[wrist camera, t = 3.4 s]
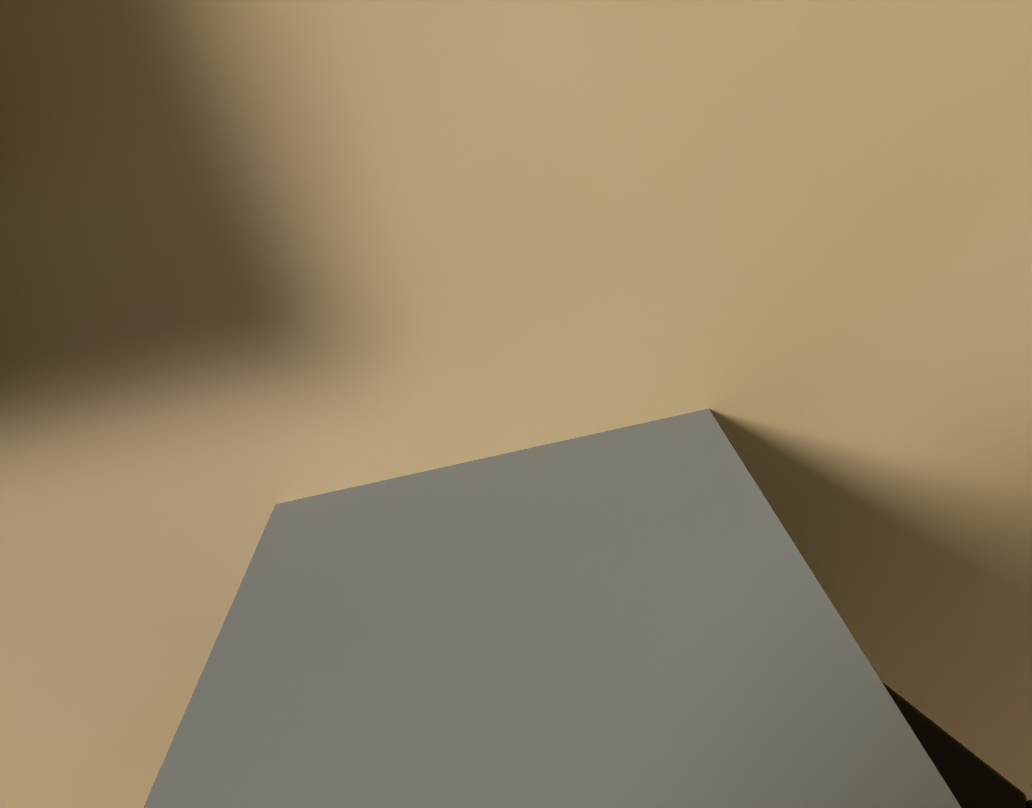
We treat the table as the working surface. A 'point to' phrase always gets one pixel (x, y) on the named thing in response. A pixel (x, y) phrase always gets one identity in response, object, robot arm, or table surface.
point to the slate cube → (543, 647)
